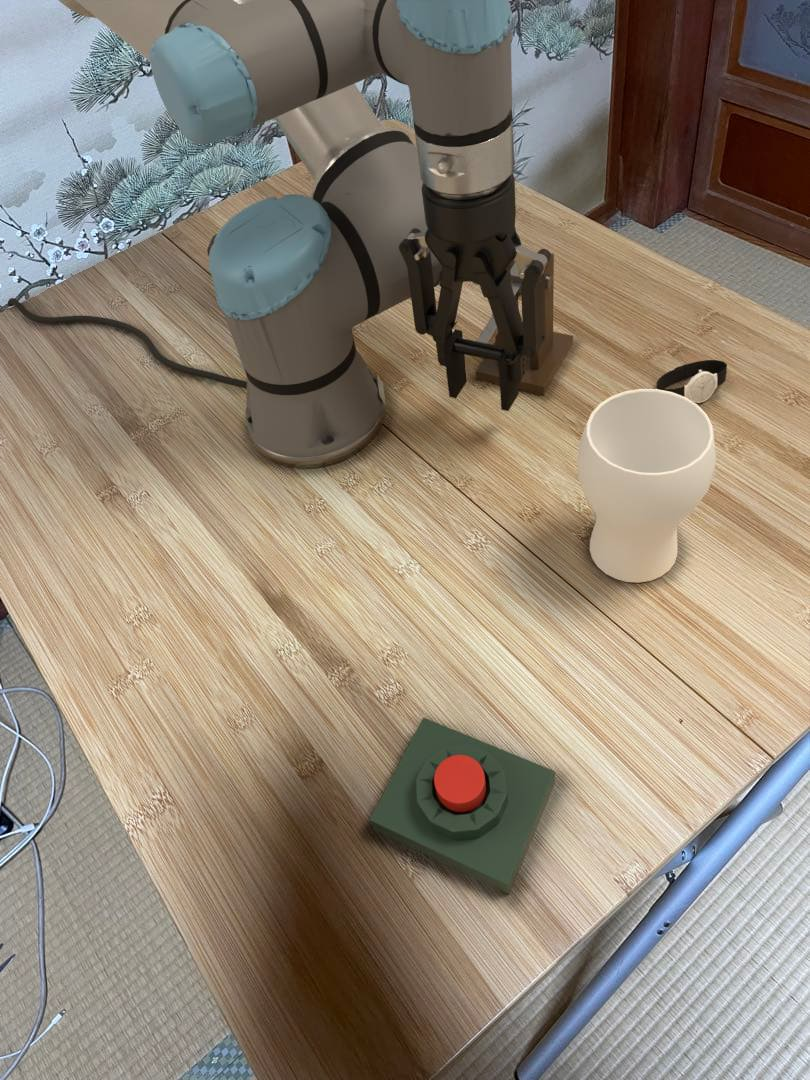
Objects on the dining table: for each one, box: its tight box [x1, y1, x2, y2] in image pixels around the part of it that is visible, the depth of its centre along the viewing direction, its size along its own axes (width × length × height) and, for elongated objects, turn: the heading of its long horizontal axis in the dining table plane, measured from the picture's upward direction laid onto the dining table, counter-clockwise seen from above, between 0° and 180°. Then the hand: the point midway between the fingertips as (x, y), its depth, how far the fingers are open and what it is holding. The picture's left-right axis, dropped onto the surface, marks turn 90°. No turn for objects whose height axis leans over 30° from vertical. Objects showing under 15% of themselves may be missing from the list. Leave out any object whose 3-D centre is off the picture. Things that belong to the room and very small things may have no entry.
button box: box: [369, 717, 556, 895], centre depth 62 cm, size 11×9×4 cm
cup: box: [576, 388, 717, 584], centre depth 70 cm, size 11×11×15 cm
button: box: [434, 755, 486, 812], centre depth 60 cm, size 4×4×2 cm
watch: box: [656, 359, 728, 404], centre depth 86 cm, size 8×5×4 cm, turn 112°
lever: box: [453, 262, 523, 362], centre depth 83 cm, size 13×5×2 cm, turn 153°
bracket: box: [475, 252, 574, 396], centre depth 89 cm, size 9×8×13 cm
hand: (483, 395), depth 85 cm, fingers closed on lever, 5 cm apart
